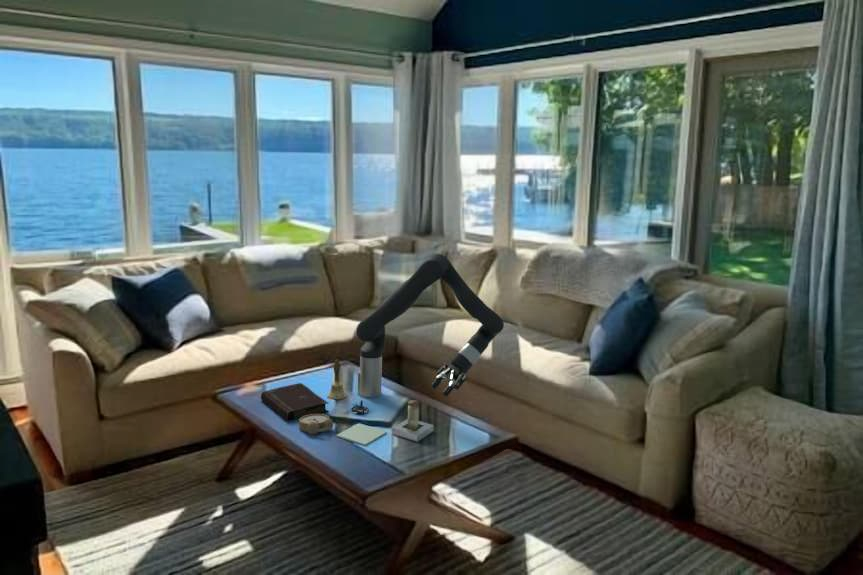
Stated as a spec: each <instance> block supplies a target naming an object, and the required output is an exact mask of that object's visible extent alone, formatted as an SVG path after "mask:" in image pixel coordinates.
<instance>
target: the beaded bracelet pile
mask: <svg viewBox="0 0 863 575" xmlns="http://www.w3.org/2000/svg"><path fill="white" fill-rule="evenodd" d="M359 404H360V405H359ZM359 404H358V403H356V404H355V406H353V407H351V413H352V412H357V413H362V414H363V413H364V411H366V410H367V409H368V410H369V408H368V407H367V406H364V405H363V404H364V403H363V399H362V400H360V403H359Z"/></svg>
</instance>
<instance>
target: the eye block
mask: <svg viewBox="0 0 863 575" xmlns="http://www.w3.org/2000/svg"><path fill="white" fill-rule="evenodd" d="M407 427H408V418H407V419H404V420H403V421H401V422H400V423H398V424H396V425H394V426H392V427H391V434H392V435H393V436H396V437H401V438H404V439H407V440H409V441H413V442H419V441H421V440H422V439H424V438H425V437H426V436H428V435H429V434H431V433H433V432H434V424H430V423H427V422H424V421H420V420H419V423H418V430H416V431H413V430H410V429H407Z"/></svg>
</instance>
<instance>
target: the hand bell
mask: <svg viewBox="0 0 863 575" xmlns="http://www.w3.org/2000/svg"><path fill="white" fill-rule="evenodd" d="M340 365H341V364H340V362H339V359H334V363H333V372H334V382H332V383H331V388H330V390H329V392H328V393H327V395H326V397H327V398H328V399H330V400H342V399H343V400H344V399H346V398H347V397H348V394H347V393H346V392H345V390H344V387H343V383H342V382H340V377H339V374H340V371H341V370H340V369H341V366H340Z"/></svg>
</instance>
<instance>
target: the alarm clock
mask: <svg viewBox="0 0 863 575" xmlns="http://www.w3.org/2000/svg"><path fill="white" fill-rule="evenodd" d="M298 422H299V423H298V425H299V426H298V428H299V430H300V431H302V432H307V433H308V434H309V435H311V436H313V435H314V434H315V435H317V434H318V433H320V432H327V433H328V432H330V431H331V430H332V429H333V428H334V422H333V420H332V419H330V416H329V415H328V414H325V413H324V414H310V415H305V416H303V417H301V418H298ZM315 435H314V436H315Z"/></svg>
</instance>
